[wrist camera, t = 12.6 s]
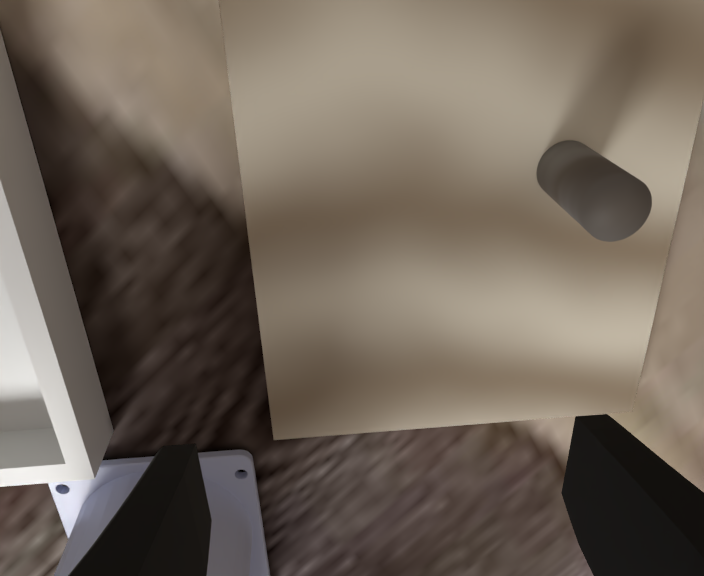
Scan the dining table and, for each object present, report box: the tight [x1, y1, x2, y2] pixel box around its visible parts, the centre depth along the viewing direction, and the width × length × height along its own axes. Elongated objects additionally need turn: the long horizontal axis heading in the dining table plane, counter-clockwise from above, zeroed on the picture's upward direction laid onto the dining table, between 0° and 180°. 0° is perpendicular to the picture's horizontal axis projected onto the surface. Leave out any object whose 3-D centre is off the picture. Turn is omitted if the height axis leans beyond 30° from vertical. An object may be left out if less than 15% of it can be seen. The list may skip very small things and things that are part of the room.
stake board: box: [219, 0, 704, 440], centre depth 19 cm, size 16×14×5 cm
